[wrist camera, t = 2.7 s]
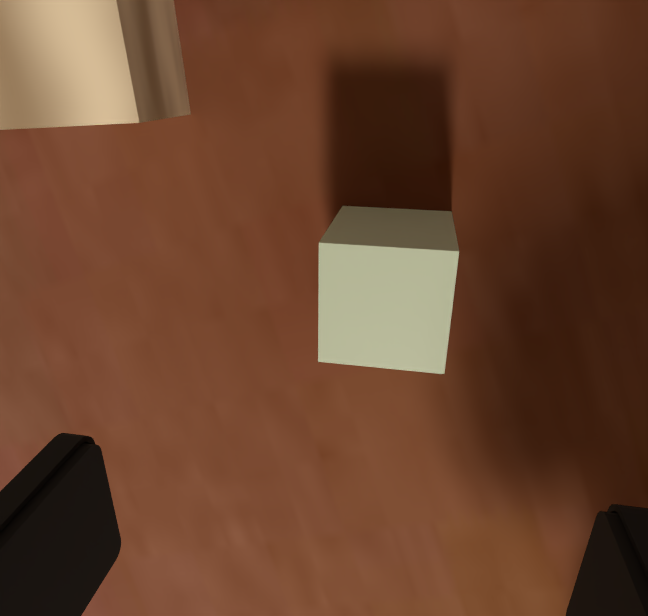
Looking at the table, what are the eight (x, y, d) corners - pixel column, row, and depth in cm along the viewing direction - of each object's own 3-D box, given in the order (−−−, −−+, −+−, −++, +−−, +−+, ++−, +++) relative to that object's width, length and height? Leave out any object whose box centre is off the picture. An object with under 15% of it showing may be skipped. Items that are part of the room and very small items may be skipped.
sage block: (451, 211, 23) (459, 251, 18) (440, 311, 26) (444, 373, 20) (342, 205, 24) (319, 242, 19) (340, 303, 26) (318, 361, 21)
